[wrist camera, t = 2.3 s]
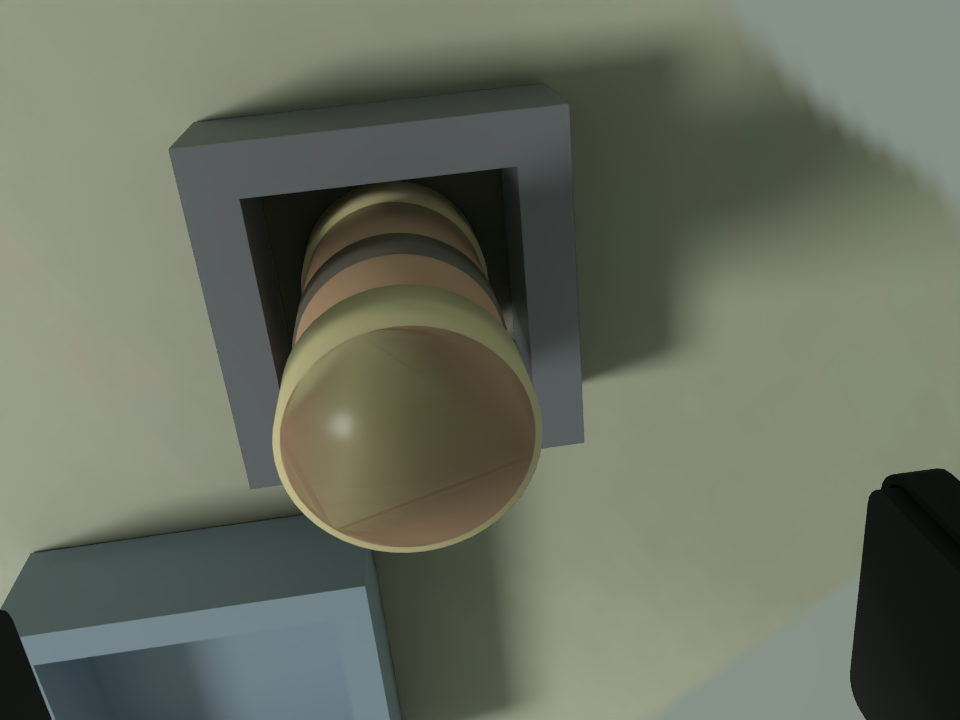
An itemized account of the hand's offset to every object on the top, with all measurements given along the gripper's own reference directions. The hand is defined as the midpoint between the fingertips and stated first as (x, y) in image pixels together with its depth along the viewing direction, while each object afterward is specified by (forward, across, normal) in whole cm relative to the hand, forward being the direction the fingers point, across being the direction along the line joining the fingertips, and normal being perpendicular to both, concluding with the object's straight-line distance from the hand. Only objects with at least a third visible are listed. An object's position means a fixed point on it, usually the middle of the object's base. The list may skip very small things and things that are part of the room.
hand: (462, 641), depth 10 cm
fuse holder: (+11, 0, -1) cm, 11 cm away
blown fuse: (+11, 0, -1) cm, 11 cm away
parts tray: (+11, +6, +9) cm, 15 cm away
